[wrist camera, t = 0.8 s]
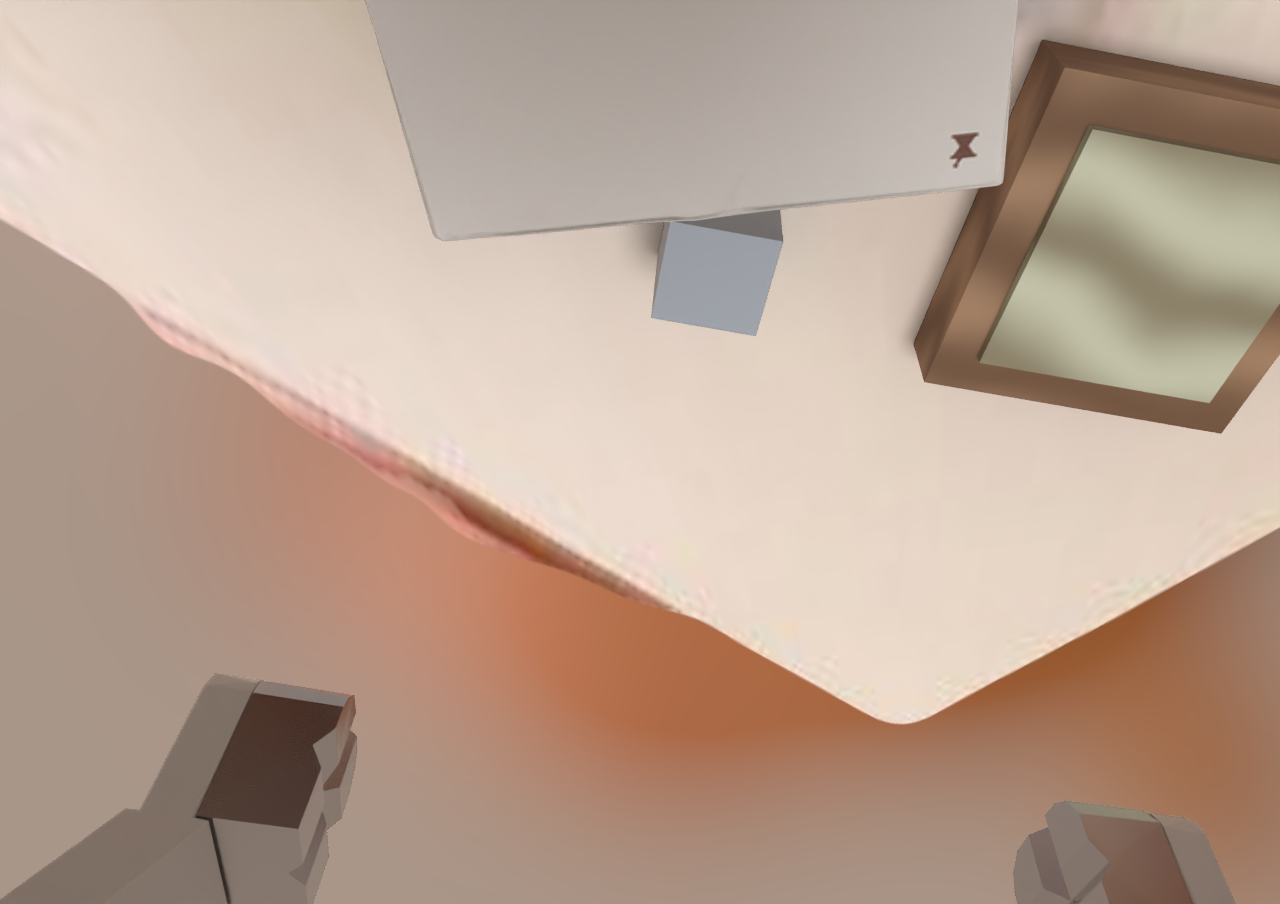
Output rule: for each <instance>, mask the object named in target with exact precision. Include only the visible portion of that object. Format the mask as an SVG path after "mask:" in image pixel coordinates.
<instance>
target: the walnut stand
mask: <svg viewBox="0 0 1280 904" xmlns="http://www.w3.org/2000/svg"><path fill="white" fill-rule="evenodd" d="M914 347H915V350H916V354H917V358H918V361H919V365H920V368H921V372H922V376H923V379H924V382H927V383H933V384H938V385H944V386H950V387H956V388H962V389H967V390H973V391H979V392H985V393H990V394H996V395H1002V396H1008V397H1013V398H1019V399H1025V400H1031V401H1036V402H1042V403H1048V404H1054V405H1060V406H1065V407H1071V408H1077V409H1083V410H1088V411H1094V412H1100V413H1106V414H1111V415H1117V416H1123V417H1129V418H1134V419H1140V420H1146V421H1152V422H1157V423H1163V424H1169V425H1175V426H1181V427H1186V428H1192V429H1198V430H1204V431H1209V432H1215V433H1222V432H1223V430H1224V429H1225V428H1226V426H1227V425H1228V424H1229V422H1230V421H1231V420H1232V418H1233V417H1234V415H1235V414H1236V413H1237V411H1238V410H1239V409H1240V407H1241V406H1242V405H1243V403H1244V402H1245V401H1246V399H1247V398H1248V396H1249V395H1250V394H1251V392H1252V391H1253V390H1254V388H1255V387H1256V386H1257V384H1258V383H1259V382H1260V380H1261V379H1262V377H1263V376H1264V375H1265V373H1266V372H1267V371H1268V369H1269V368H1270V367H1271V365H1272V364H1273V362H1274V361H1275V360H1276V358H1277V357H1278V356H1279V354H1280V86H1276V85H1270V84H1265V83H1260V82H1255V81H1250V80H1245V79H1240V78H1235V77H1230V76H1224V75H1219V74H1214V73H1209V72H1204V71H1199V70H1194V69H1189V68H1184V67H1178V66H1173V65H1168V64H1163V63H1158V62H1153V61H1148V60H1143V59H1137V58H1132V57H1127V56H1122V55H1117V54H1112V53H1107V52H1102V51H1097V50H1091V49H1086V48H1081V47H1076V46H1071V45H1066V44H1061V43H1056V42H1051V41H1045V40H1042V43H1041V45H1040V47H1039V50H1038V52H1037V54H1036V57H1035V59H1034V61H1033V64H1032V66H1031V68H1030V71H1029V73H1028V76H1027V78H1026V80H1025V83H1024V85H1023V87H1022V90H1021V92H1020V94H1019V97H1018V99H1017V101H1016V104H1015V106H1014V109H1013V111H1012V113H1011V116H1010V118H1009V120H1008V132H1007V143H1006V155H1005V167H1004V178H1003V183H1002V184H1000V185H998V186H991V187H982V188H980V189H979V191H978V193H977V196H976V198H975V200H974V203H973V205H972V208H971V210H970V212H969V215H968V217H967V219H966V222H965V224H964V226H963V229H962V231H961V233H960V236H959V238H958V241H957V243H956V245H955V248H954V250H953V252H952V255H951V257H950V259H949V262H948V264H947V266H946V269H945V271H944V274H943V276H942V278H941V281H940V283H939V285H938V288H937V290H936V292H935V295H934V297H933V299H932V302H931V304H930V307H929V309H928V311H927V314H926V316H925V318H924V321H923V323H922V325H921V328H920V330H919V332H918V335H917V337H916V340H915V342H914Z"/></svg>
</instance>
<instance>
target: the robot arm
mask: <svg viewBox="0 0 1280 904" xmlns="http://www.w3.org/2000/svg"><path fill="white" fill-rule="evenodd" d="M355 714H356V708H355V697H354V695H350V694H344V693H337V692H331V691H324V690H318V689H312V688H306V687H299V686H293V685H287V684H279V683H274V682H267V681H264V680H259V679H252V678H245V677H238V676H231V675H225V674H218V673H215V674H214V676H212V678H211V679H210V680H209V681H208V682H207V683H206V684H205V685H204V687H203V688H202V690H201V692H200V694H199V696H198V698H197V700H196V702H195V704H194V705H193V708H192V709H191V711H190V713H189V715H188V717H187V719H186V721H185V723H184V725H183V727H182V729H181V731H180V733H179V735H178V737H177V739H176V740H175V743H174V745H173V746H172V748H171V750H170V752H169V754H168V756H167V758H166V760H165V762H164V764H163V766H162V768H161V769H160V772H159V773H158V775H157V777H156V779H155V781H154V783H153V785H152V787H151V789H150V791H149V793H148V795H147V797H146V799H145V801H144V803H143V805H142V807H141V808H140V810H138V809H128V808H125V809H124V810H122V811H121V812H120V813H118V814H117V815H116V816H114V817H113V818H111V819H110V820H109V821H107V822H106V823H105V824H103V825H102V826H100V827H99V828H98V829H96V830H95V831H93V832H92V833H91V834H89V835H88V836H87V837H85V838H84V839H83V840H81V841H80V842H78V843H77V844H76V845H74V846H73V847H71V848H70V849H69V850H67V851H66V852H65V853H63V854H62V855H61V856H59V857H58V858H56V859H55V860H54V861H52V862H51V863H49V864H48V865H47V866H46V867H44V868H43V869H42V870H40V871H39V872H37V873H36V874H34V875H33V876H32V877H30V878H29V879H27V880H26V881H25V882H23V883H22V884H21V885H19V886H18V887H16V888H15V889H14V890H12V891H11V892H10V893H8V894H7V895H6V896H4V897H3V898H1V899H0V904H313V902H314V899H315V896H316V893H317V890H318V887H319V884H320V881H321V878H322V875H323V872H324V869H325V866H326V863H327V860H328V857H329V852H328V836H327V830H328V829H329V828H330V827H331V826H333V825H334V824H335V823H336V822H337V821H339V820H340V819H341V818H342V815H343V812H344V809H345V805H346V802H347V799H348V796H349V793H350V788H351V784H352V779H353V775H354V770H355V763H356V755H357V736H356V735H355V734H354V733H353V732H352V731H351V730H350V729H351V726H352V723H353V719H354V717H355ZM1045 816H1046V820H1047V823H1048V828H1045V829H1043V830H1040V831H1038V832H1035V833H1033V834H1030V835H1029V836H1028V837H1027V838H1026V840H1025V841H1024V843H1023V844H1022V845H1021V847H1020V848H1019V849H1018V851H1017V856H1016V862H1015V867H1014V889H1015V896H1016V900H1017V904H1236V903H1235V901H1234V898H1233V896H1232V894H1231V891H1230V889H1229V887H1228V885H1227V882H1226V880H1225V878H1224V875H1223V873H1222V871H1221V869H1220V866H1219V864H1218V862H1217V860H1216V857H1215V855H1214V853H1213V850H1212V848H1211V846H1210V843H1209V841H1208V839H1207V837H1206V835H1205V833H1204V831H1203V830H1202V829H1201V828H1200V827H1199V825H1198V824H1197V823H1196V822H1195V821H1193V820H1190V819H1187V818H1184V817H1177V816H1169V815H1161V814H1154V813H1146V812H1145V811H1140V810H1133V809H1126V808H1118V807H1110V806H1103V805H1095V804H1088V803H1080V802H1072V801H1063V802H1059V803H1056V804H1054V805H1053V807H1052V808H1051V809H1050V810H1049V811H1048V812H1047V813H1046V815H1045Z"/></svg>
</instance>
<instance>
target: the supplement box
mask: <svg viewBox="0 0 1280 904" xmlns="http://www.w3.org/2000/svg"><path fill="white" fill-rule="evenodd" d="M365 1H366V5H367V8H368V11H369V14H370V18H371V21H372V24H373V27H374V30H375V34H376V37H377V41H378V44H379V48H380V51H381V55H382V58H383V62H384V65H385V69H386V72H387V76H388V80H389V83H390V87H391V90H392V94H393V97H394V101H395V104H396V108H397V111H398V115H399V118H400V122H401V126H402V129H403V132H404V136H405V139H406V143H407V146H408V150H409V153H410V157H411V160H412V164H413V167H414V170H415V174H416V177H417V181H418V184H419V188H420V191H421V195H422V198H423V202H424V205H425V209H426V212H427V215H428V219H429V222H430V226H431V229H432V233H433V235H434V236H435V237H436V238H437V239H439V240H442V241H455V240H465V239H475V238H490V237H506V236H520V235H531V234H541V233H551V232H561V231H571V230H580V229H590V228H600V227H611V226H621V225H632V224H644V223H656V222H673V221H697V220H704V219H710V218H717V217H724V216H731V215H739V214H747V213H755V212H763V211H771V210H780V209H789V208H799V207H809V206H818V205H828V204H837V203H847V202H857V201H867V200H876V199H885V198H894V197H903V196H912V195H921V194H930V193H939V192H949V191H958V190H966V189H974V188H982V187H991V186H998V185H1000V184H1002V183H1003V178H1004V167H1005V155H1006V143H1007V132H1008V119H1009V106H1010V93H1011V80H1012V68H1013V56H1014V44H1015V32H1016V20H1017V8H1018V0H365Z"/></svg>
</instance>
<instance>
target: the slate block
mask: <svg viewBox="0 0 1280 904" xmlns="http://www.w3.org/2000/svg"><path fill="white" fill-rule="evenodd" d="M782 244H783V235H782V225H781V215H780V210H771V211H763V212H755V213H747V214H739V215H731V216H724V217H717V218H710V219H704V220H697V221H673V222H664V226H663V232H662V237H661V242H660V247H659V252H658V258H657V268H656V277H655V287H654V296H653V305H652V315H651V318H655V319H661V320H666V321H672V322H678V323H684V324H689V325H695V326H701V327H706V328H712V329H718V330H724V331H729V332H735V333H741V334H746V335H752V336H756V334H757V330H758V327H759V323H760V320H761V316H762V313H763V309H764V306H765V303H766V299H767V296H768V292H769V289H770V285H771V282H772V278H773V275H774V272H775V268H776V265H777V261H778V258H779V254H780V251H781V247H782Z"/></svg>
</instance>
